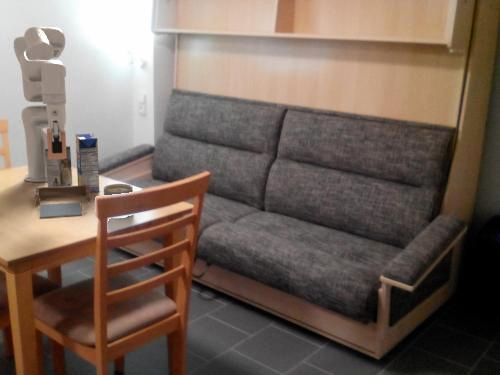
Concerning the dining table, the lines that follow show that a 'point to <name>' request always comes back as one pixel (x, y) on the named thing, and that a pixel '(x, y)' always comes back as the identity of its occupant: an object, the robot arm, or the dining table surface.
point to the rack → (62, 192)
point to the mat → (60, 210)
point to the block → (49, 141)
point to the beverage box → (87, 161)
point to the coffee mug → (117, 189)
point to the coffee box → (59, 170)
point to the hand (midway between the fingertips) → (57, 150)
